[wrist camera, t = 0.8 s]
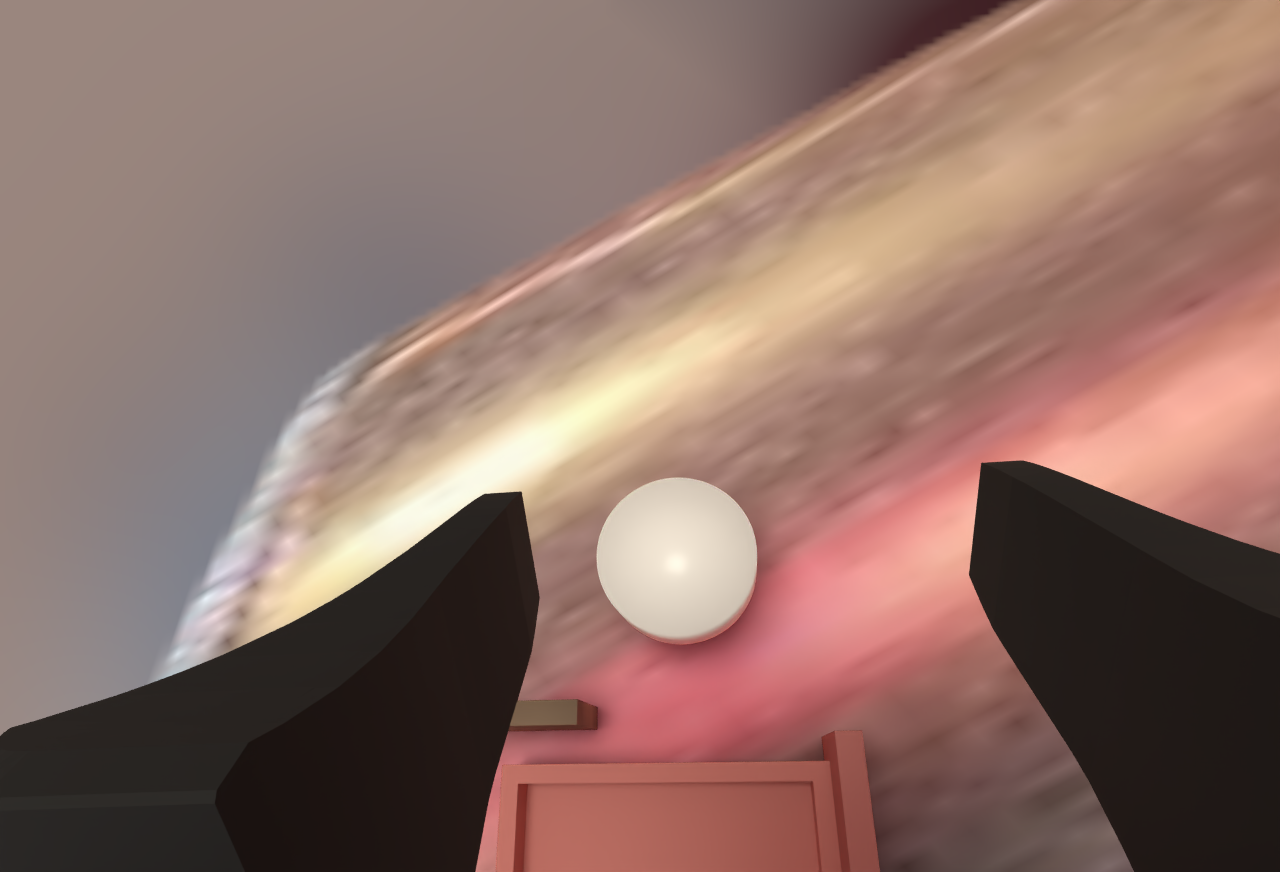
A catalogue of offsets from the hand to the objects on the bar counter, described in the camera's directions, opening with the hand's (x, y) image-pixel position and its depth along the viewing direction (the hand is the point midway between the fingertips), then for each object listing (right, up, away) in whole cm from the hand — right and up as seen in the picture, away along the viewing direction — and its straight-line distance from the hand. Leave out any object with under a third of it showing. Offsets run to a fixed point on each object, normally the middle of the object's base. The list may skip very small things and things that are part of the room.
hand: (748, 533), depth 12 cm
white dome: (0, -3, +15) cm, 15 cm away
